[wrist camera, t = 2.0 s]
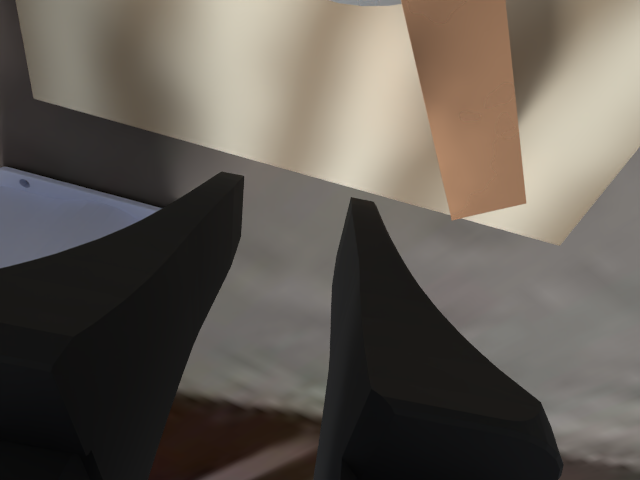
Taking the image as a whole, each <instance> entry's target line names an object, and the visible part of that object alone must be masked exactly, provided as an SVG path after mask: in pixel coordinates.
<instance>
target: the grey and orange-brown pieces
mask: <svg viewBox="0 0 640 480" xmlns="http://www.w3.org/2000/svg"><path fill="white" fill-rule="evenodd" d="M330 1H333V2H337V3H342V4H350V5H358V6H391V5H397V4H402V8H403V13H404V17H405V21H406V26H407V30H408V34H409V39H410V43H411V47H412V52H413V56H414V60H415V65H416V69H417V73H418V78H419V82H420V86H421V91H422V95H423V100H424V104H425V108H426V113H427V117H428V121H429V126H430V130H431V134H432V139H433V143H434V147H435V152H436V156H437V160H438V165H439V169H440V173H441V178H442V182H443V186H444V190H445V194H446V198H447V203H448V207H449V211H450V215H451V219H452V220H456V219H460V218H465V217H469V216H473V215H478V214H482V213H487V212H491V211H496V210H500V209H504V208H509V207H513V206H518V205H522V204H526V194H525V184H524V175H523V165H522V155H521V145H520V136H519V126H518V116H517V107H516V97H515V87H514V78H513V68H512V58H511V49H510V39H509V29H508V20H507V10H506V0H330Z"/></svg>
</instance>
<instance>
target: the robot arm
mask: <svg viewBox="0 0 640 480" xmlns="http://www.w3.org/2000/svg"><path fill="white" fill-rule="evenodd" d="M25 180H26V181H27V182H26V181H25ZM28 182H29V183H28ZM243 189H244V176H241V175H236V174H231V173H226V172H220V173H219V174H217V175H215V176H214V177H212V178H211V179H209V180H208V181H206V182H205V183H203V184H202V185H200V186H199V187H197V188H195V189H194V190H192V191H191V192H189V193H188V194H186V195H184V196H183V197H181V198H180V199H178V200H176V201H175V202H173V203H171V204H170V205H168V206H166V207H164V208H160V207H156V206H152V205H148V204H145V203H141V202H137V201H133V200H130V199H126V198H122V197H118V196H115V195H111V194H107V193H103V192H100V191H96V190H92V189H89V188H85V187H81V186H77V185H74V184H70V183H66V182H62V181H59V180H55V179H51V178H47V177H44V176H40V175H36V174H32V173H29V172H25V171H21V170H18V169H14V168H10V167H1V168H0V480H148V477H149V474H150V470H151V467H152V464H153V461H154V458H155V454H156V451H157V448H158V445H159V442H160V439H161V436H162V433H163V430H164V427H165V424H166V421H167V418H168V415H169V412H170V409H171V406H172V403H173V400H174V397H175V395H176V392H177V389H178V386H179V383H180V380H181V377H182V374H183V372H184V369H185V366H186V364H187V361H188V358H189V355H190V353H191V350H192V347H193V344H194V342H195V340H196V338H197V335H198V333H199V331H200V329H201V327H202V325H203V322H204V320H205V318H206V316H207V314H208V312H209V310H210V308H211V306H212V304H213V302H214V300H215V298H216V296H217V294H218V292H219V290H220V288H221V286H222V284H223V282H224V280H225V278H226V276H227V273H228V271H229V269H230V267H231V265H232V262H233V259H234V256H235V253H236V250H237V247H238V244H239V241H240V237H241V225H242V207H243ZM562 469H563V462H562V459H561V456H560V453H559V450H558V447H557V444H556V440H555V437H554V434H553V431H552V428H551V425H550V423H549V421H548V418H547V416H546V414H545V411H544V409H543V406H542V404H541V402H540V401H538V400H537V399H536V398H535V397H533V396H532V395H531V394H530V393H528V392H527V391H526V390H525V389H523V388H522V387H521V386H519V385H518V384H517V383H516V382H514V381H513V380H512V379H511V378H509V377H508V376H507V375H506V374H504V373H503V372H502V371H500V370H499V369H498V368H497V367H496V366H495V365H493V364H492V363H491V362H490V361H489V360H488V359H487V358H486V357H485V356H483V355H482V354H481V353H480V352H479V351H478V350H477V349H476V348H475V347H474V346H473V345H471V344H470V343H469V342H468V341H467V340H466V339H465V338H464V337H463V336H462V335H461V334H460V333H459V332H458V331H457V330H456V328H455V327H454V326H453V325H452V324H451V323H450V322H449V321H448V320H447V319H446V318H445V317H444V316H443V315H442V313H441V312H440V311H439V310H438V309H437V308H436V306H435V305H434V304H433V303H432V302H431V300H430V299H429V298H428V296H427V295H426V294H425V293H424V291H423V290H422V289H421V287H420V286H419V285H418V283H417V282H416V280H415V279H414V277H413V276H412V274H411V273H410V271H409V270H408V268H407V266H406V265H405V263H404V261H403V260H402V258H401V256H400V255H399V253H398V251H397V249H396V247H395V245H394V244H393V242H392V240H391V238H390V236H389V234H388V232H387V230H386V227H385V225H384V223H383V221H382V219H381V216H380V214H379V212H378V209H377V206H376V205H375V203H374V202H372V201H367V200H362V199H357V198H352V197H351V200H350V204H349V208H348V212H347V216H346V220H345V224H344V228H343V232H342V236H341V240H340V244H339V248H338V252H337V257H336V263H335V270H334V276H333V283H332V302H331V334H330V360H329V372H328V380H327V387H326V395H325V403H324V410H323V417H322V424H321V432H320V439H319V446H318V453H317V459H316V466H315V473H314V480H558V479H559V478H560V476H561V473H562Z"/></svg>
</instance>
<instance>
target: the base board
mask: <svg viewBox="0 0 640 480" xmlns="http://www.w3.org/2000/svg"><path fill="white" fill-rule="evenodd" d="M15 1H16V6H17V11H18V17H19V22H20V28H21V33H22V38H23V44H24V49H25V55H26V60H27V66H28V71H29V76H30V82H31V87H32V93H33V98H34V99H37V100H40V101H44V102H48V103H51V104H55V105H58V106H62V107H65V108H69V109H73V110H76V111H80V112H83V113H87V114H91V115H94V116H98V117H101V118H105V119H108V120H112V121H116V122H119V123H123V124H126V125H130V126H133V127H137V128H141V129H144V130H148V131H151V132H155V133H158V134H162V135H166V136H169V137H173V138H176V139H180V140H183V141H187V142H191V143H194V144H198V145H201V146H205V147H208V148H212V149H216V150H219V151H223V152H226V153H230V154H234V155H237V156H241V157H244V158H248V159H251V160H255V161H259V162H262V163H266V164H269V165H273V166H276V167H280V168H284V169H287V170H291V171H294V172H298V173H301V174H305V175H309V176H312V177H316V178H319V179H323V180H326V181H330V182H334V183H337V184H341V185H344V186H348V187H351V188H355V189H359V190H362V191H366V192H369V193H373V194H377V195H380V196H384V197H387V198H391V199H394V200H398V201H402V202H405V203H409V204H412V205H416V206H419V207H423V208H427V209H430V210H434V211H437V212H441V213H444V214H448V215H450V211H449V207H448V203H447V198H446V194H445V190H444V186H443V182H442V178H441V173H440V169H439V165H438V160H437V156H436V152H435V147H434V143H433V139H432V134H431V130H430V126H429V121H428V117H427V113H426V108H425V104H424V100H423V95H422V91H421V86H420V82H419V78H418V73H417V69H416V65H415V60H414V56H413V52H412V47H411V43H410V39H409V34H408V30H407V26H406V21H405V17H404V13H403V8H402V4H397V5H391V6H358V5H350V4H342V3H337V2H333V1H330V0H15ZM506 10H507V20H508V29H509V39H510V49H511V58H512V68H513V78H514V87H515V97H516V107H517V116H518V126H519V136H520V145H521V155H522V165H523V175H524V184H525V194H526V204H522V205H518V206H513V207H509V208H504V209H500V210H496V211H491V212H487V213H482V214H478V215H473V216H469V217H465V218H462V219H466V220H469V221H473V222H477V223H480V224H484V225H487V226H491V227H494V228H498V229H502V230H505V231H509V232H512V233H516V234H520V235H523V236H527V237H530V238H534V239H537V240H541V241H545V242H548V243H552V244H555V245H559V246H560V245H561V243H562V242H563V241H564V240H565V238H566V237H567V236H568V235H569V234H570V232H571V231H572V230H573V229H574V227H575V226H576V225H577V224H578V222H579V221H580V220H581V219H582V217H583V216H584V215H585V214H586V212H587V211H588V210H589V209H590V208H591V206H592V205H593V204H594V203H595V201H596V200H597V199H598V198H599V196H600V195H601V194H602V193H603V191H604V190H605V189H606V188H607V186H608V185H609V184H610V183H611V182H612V180H613V179H614V178H615V177H616V175H617V174H618V173H619V172H620V170H621V169H622V168H623V167H624V165H625V164H626V163H627V162H628V160H629V159H630V158H631V157H632V156H633V154H634V153H635V152H636V151H637V149H638V148H639V147H640V0H506Z"/></svg>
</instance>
